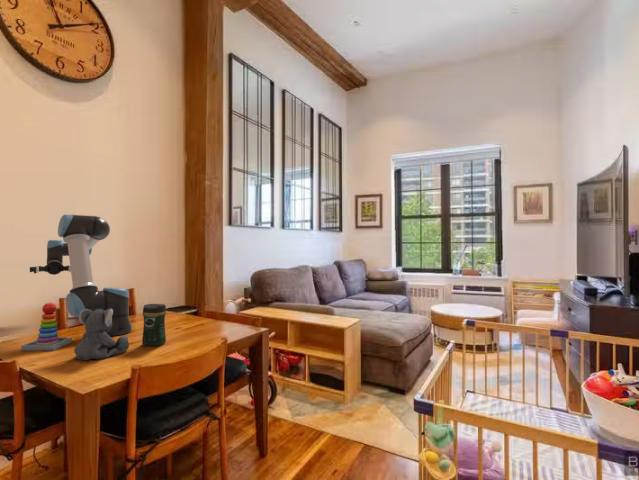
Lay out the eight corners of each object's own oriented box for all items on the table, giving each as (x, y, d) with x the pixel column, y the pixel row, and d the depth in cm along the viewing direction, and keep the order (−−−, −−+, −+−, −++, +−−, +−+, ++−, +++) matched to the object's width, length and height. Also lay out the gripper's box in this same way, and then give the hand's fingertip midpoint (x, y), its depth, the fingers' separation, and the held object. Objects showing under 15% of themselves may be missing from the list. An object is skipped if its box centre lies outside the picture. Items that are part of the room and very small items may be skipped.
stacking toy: (46, 348, 153) (46, 304, 153) (31, 347, 155) (32, 304, 155) (63, 343, 161) (63, 301, 161) (49, 342, 163) (49, 301, 163)
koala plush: (132, 350, 154) (133, 305, 154) (97, 364, 136) (98, 313, 137) (98, 347, 158) (99, 303, 158) (61, 360, 140) (62, 310, 140)
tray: (71, 342, 165) (72, 337, 165) (54, 350, 152) (54, 345, 152) (41, 342, 164) (41, 337, 164) (21, 351, 151) (21, 345, 151)
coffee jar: (168, 342, 167) (169, 302, 167) (158, 347, 159) (159, 305, 159) (150, 341, 168) (150, 302, 169) (138, 345, 161) (139, 304, 161)
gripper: (80, 273, 208) (82, 276, 191) (25, 275, 194) (22, 278, 176) (81, 260, 208) (82, 262, 191) (26, 261, 194) (22, 263, 177)
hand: (53, 269), depth 184 cm, fingers open, 13 cm apart
